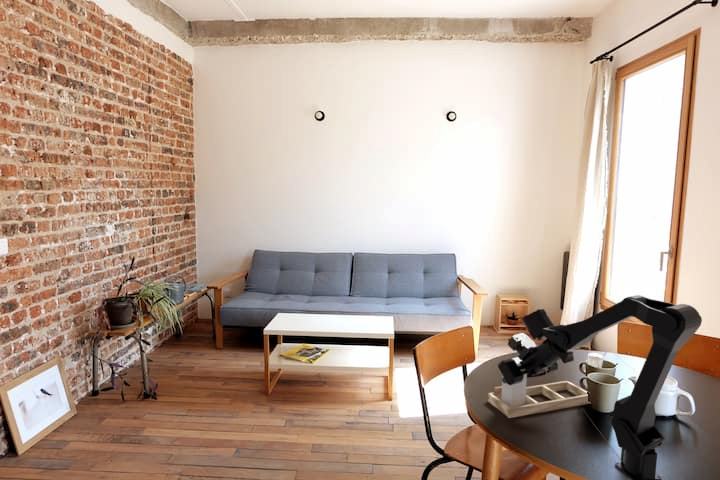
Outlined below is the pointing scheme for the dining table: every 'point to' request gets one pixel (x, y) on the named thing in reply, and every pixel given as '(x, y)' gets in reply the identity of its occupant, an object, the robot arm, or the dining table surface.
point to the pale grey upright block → (514, 390)
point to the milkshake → (595, 359)
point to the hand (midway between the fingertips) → (510, 379)
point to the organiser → (535, 407)
